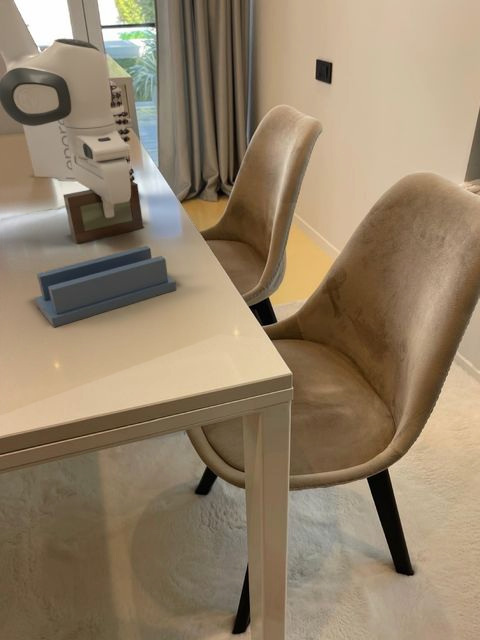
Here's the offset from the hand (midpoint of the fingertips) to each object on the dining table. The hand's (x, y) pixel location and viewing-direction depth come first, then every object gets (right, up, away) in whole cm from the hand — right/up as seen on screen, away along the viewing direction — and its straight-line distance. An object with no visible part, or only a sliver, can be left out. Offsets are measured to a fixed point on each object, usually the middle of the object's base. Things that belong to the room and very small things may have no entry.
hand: (105, 214), depth 109 cm
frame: (0, -3, +2) cm, 4 cm away
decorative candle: (-2, +7, +20) cm, 21 cm away
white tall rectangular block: (-21, +18, +37) cm, 46 cm away
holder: (+6, -18, -21) cm, 28 cm away
